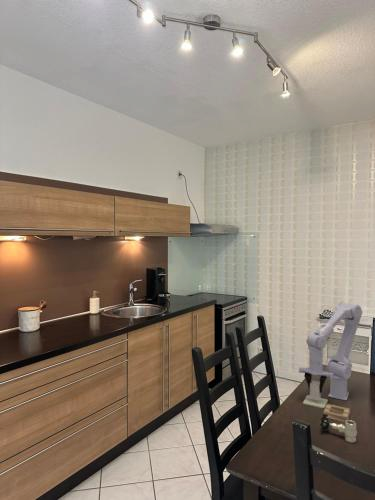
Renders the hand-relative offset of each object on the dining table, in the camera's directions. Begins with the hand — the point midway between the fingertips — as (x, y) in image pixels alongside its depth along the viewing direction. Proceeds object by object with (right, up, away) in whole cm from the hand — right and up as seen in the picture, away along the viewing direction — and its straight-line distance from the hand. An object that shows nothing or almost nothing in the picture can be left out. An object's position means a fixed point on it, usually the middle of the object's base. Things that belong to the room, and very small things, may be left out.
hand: (315, 391), depth 158 cm
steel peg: (0, -3, 0) cm, 3 cm away
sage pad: (0, -5, 0) cm, 5 cm away
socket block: (+5, -5, -12) cm, 14 cm away
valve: (-1, -6, -28) cm, 29 cm away
